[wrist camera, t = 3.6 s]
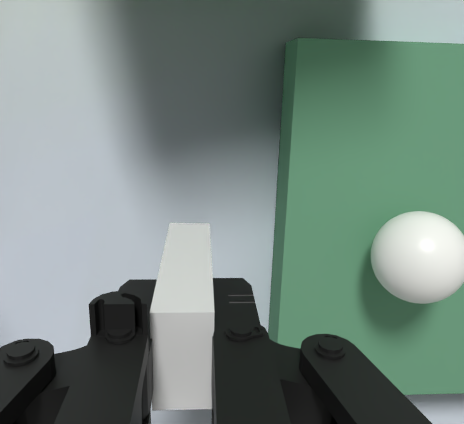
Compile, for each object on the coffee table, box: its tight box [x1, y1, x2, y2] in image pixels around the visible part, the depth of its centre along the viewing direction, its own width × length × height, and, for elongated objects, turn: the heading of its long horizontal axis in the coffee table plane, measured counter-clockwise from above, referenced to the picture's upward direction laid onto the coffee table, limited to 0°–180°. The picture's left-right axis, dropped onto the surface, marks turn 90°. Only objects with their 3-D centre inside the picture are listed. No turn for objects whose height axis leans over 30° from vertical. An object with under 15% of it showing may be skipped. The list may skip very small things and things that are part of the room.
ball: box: [371, 211, 464, 304], centre depth 17 cm, size 4×4×4 cm
